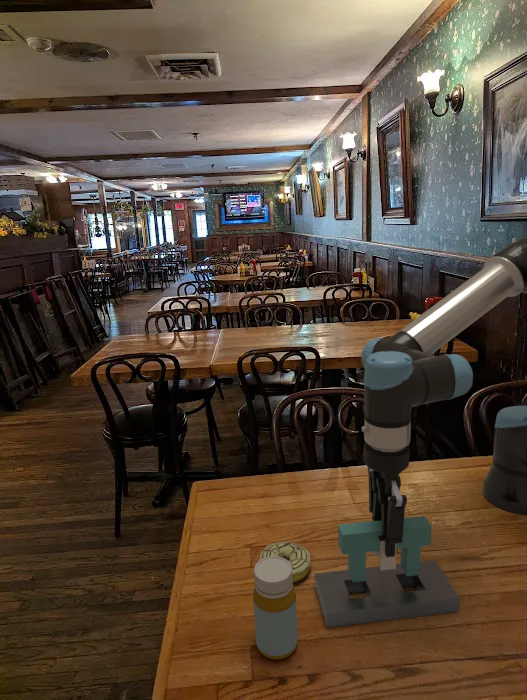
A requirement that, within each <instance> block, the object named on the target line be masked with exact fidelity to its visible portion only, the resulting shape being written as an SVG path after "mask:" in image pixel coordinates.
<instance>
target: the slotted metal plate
mask: <svg viewBox="0 0 527 700" xmlns="http://www.w3.org/2000/svg"><path fill="white" fill-rule="evenodd" d="M314 587H315V591H316V595H317V598H318V603H319V605H320V609H321V612H322V615H323V619H324V622H325V627H326V629H328V628H329V629H330V628H339V627H345V626H354V625H361V624H371V623H379V622H387V621H396V620H403V619H410V618H417V617H426V616H427V617H428V616H434V615H436V616H437V615H443V614H450V613H452V614H453V613H459V612H460V600H461V598H460V596H459V594H458V593H457V591H456V590H455V588H454V586H453V585H452V583H450V581H449V579H448V578H447V576H446V575H445V573H444V572H443V569H442V568H441V567H440V564H438V562H437V561H436V559H430V560H423V561H421V560H420V575H415V576H406V574H405V572H404V571H403V569H402V567H401V563H396V569H390V570H380V565H377V566H370V567H369V566H368V567H366V581H361V582H352V580H351V577H350V574H349V572H348V569H344V570H336V571H335V570H334V571H326V572H317V573H314ZM406 587H416V589H417V590H413V591H405V590H404V588H406ZM363 592H364V593H365V596H363V597H355V598H351V596H350V594H353V593H354V594H355V593H363Z"/></svg>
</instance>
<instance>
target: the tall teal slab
mask: <svg viewBox="0 0 527 700" xmlns="http://www.w3.org/2000/svg"><path fill="white" fill-rule="evenodd" d="M337 527H338V528H337V529H338V530H337V532H338V533H337V534H338V536H337V540H338V546H339V549H340V551H341V554H342V555H347V556H348V557H347V570H348V572H349V574H350V577H351V580H352V582H361V581H366V568H367V553H370V552H372V553H373V551H380V541H379V538H378V536H382V520H380V521H373V520H372V521H370V520H369V521H362V522H361V521H360V522H353V523H352V522H351V523H342V524H338V525H337ZM431 539H432V524H431V523H430V522H429V520H428V519H427V518H426V516H425V515H422V516H411V517H404V527H403V540H402V543H396V550H400V564H401V567H402V569H403V571H404V572H405V574H406V576H415V575H420V562H421V551H422V549H421V547H428V546H432V545H431V543H432V540H431Z"/></svg>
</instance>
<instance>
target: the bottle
mask: <svg viewBox="0 0 527 700" xmlns="http://www.w3.org/2000/svg"><path fill="white" fill-rule="evenodd" d="M253 574H254V575H253V576H254V588H253V592H252V600H253V601H252V602H253V604H252V605H253V615H254V617H253V618H254V630H255V643H256V648H257V650H258V652H259V653H260V654H261V655H262V656H264V657H266V658H268V659H270V660H277V661H279V660H283V659H286V658H287V657H289V656H291V655H292V654H293V653H294V652H295V651H296V649H297V646H298V639H299V638H298V637H299V636H298V614H297V610H298V609H297V594H296V593H297V591H296V588H295V585H294V583H293V582H292V581H293V575H292V566H291V564H290V562H289V561H288V560H286V559H284V558H282V557H278V556H270V557H266V558H263V559H261V560H260V561H259V560H258V561H257V562H256V564H255V565H254V568H253Z"/></svg>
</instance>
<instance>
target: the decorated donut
mask: <svg viewBox="0 0 527 700" xmlns="http://www.w3.org/2000/svg"><path fill="white" fill-rule="evenodd" d="M270 556H278V557H282V558H284V559H286V560H288V561H289V562H290V564H291V566H292V575H293V581H292V582H293V584H295V583H298V582H300V581H301V580H303V579H304V578H305V577H306V576H307V575H308V573H309V571H310V568H311V566H312V563H311V561H312V558H311V553H310V552H309V551H308V549H307V548H305V547H303V546H301V545H300V544H297V543H295V542H291V541H278V542H274V543H270V544H268V545H266V547H264V549H263V550H262V552H261V553H260V554H259V559H258V561H260V560H261V559H263V558H266V557H270Z"/></svg>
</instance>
